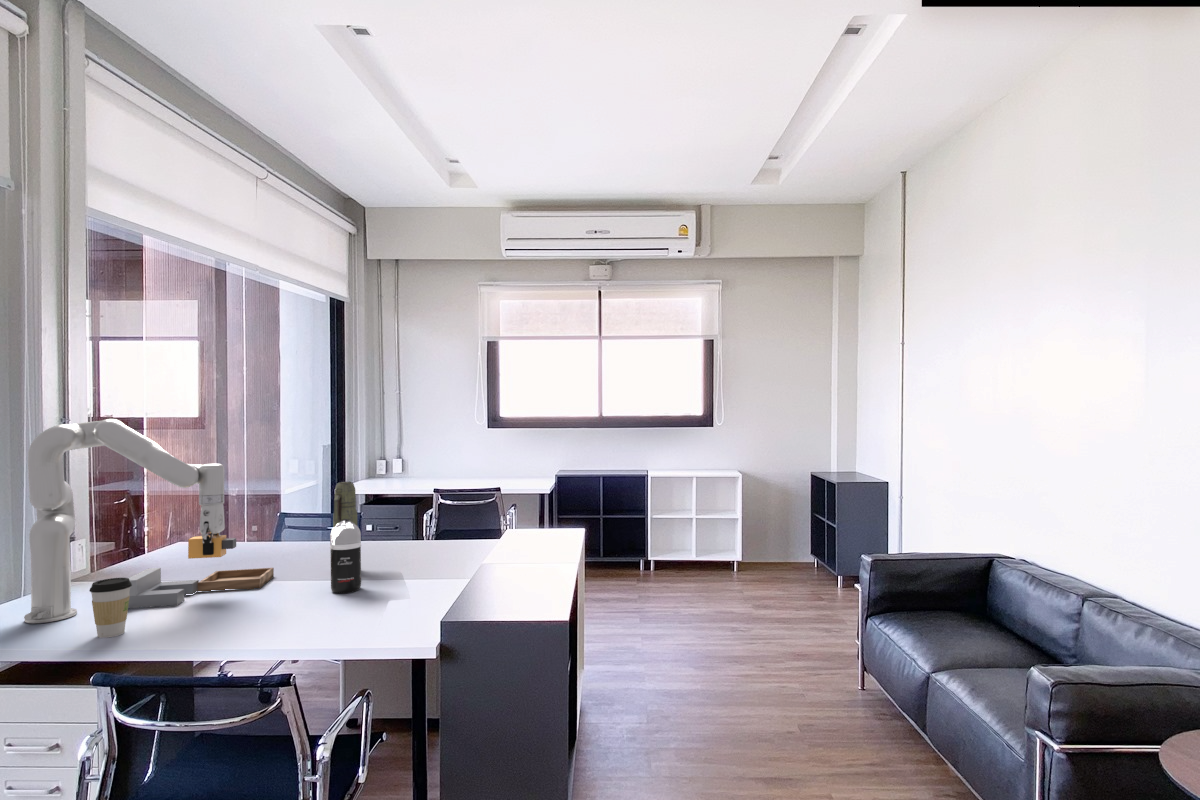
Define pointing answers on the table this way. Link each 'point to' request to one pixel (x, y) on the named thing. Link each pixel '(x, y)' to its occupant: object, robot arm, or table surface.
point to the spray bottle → (345, 557)
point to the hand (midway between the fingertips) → (211, 552)
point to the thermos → (344, 503)
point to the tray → (236, 579)
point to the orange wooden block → (219, 546)
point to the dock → (157, 589)
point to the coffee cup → (110, 605)
